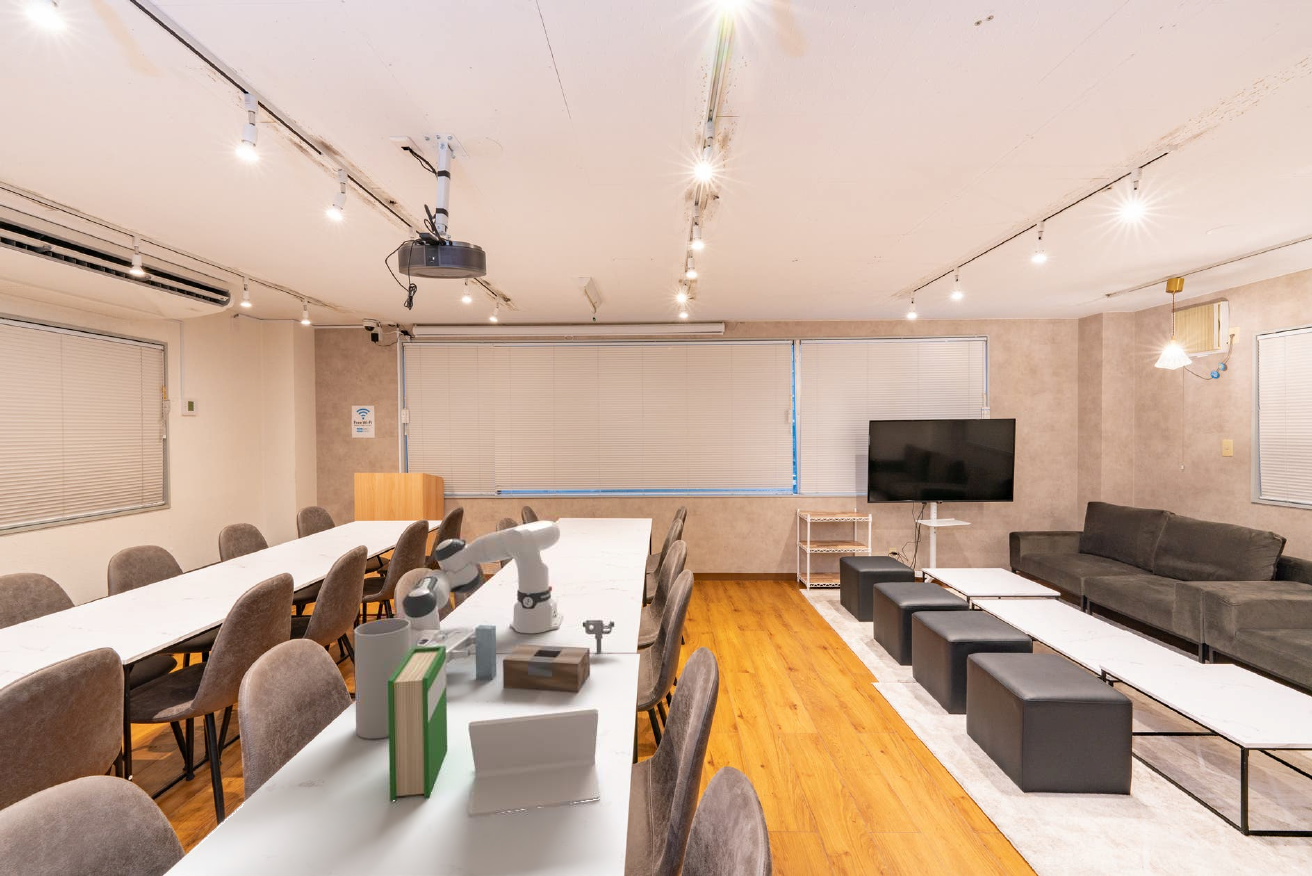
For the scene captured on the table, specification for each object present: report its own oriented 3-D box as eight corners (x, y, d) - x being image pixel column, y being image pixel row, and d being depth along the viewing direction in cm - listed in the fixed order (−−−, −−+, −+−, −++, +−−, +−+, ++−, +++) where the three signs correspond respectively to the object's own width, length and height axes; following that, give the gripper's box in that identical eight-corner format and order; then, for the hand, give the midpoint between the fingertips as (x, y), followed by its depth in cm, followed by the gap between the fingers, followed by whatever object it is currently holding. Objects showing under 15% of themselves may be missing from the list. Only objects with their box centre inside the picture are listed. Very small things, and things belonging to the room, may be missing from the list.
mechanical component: (613, 653, 190) (613, 622, 190) (582, 653, 190) (582, 623, 190) (614, 650, 193) (614, 619, 193) (584, 650, 193) (583, 620, 193)
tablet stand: (600, 801, 115) (599, 715, 114) (468, 819, 110) (466, 729, 110) (592, 751, 132) (591, 677, 132) (478, 765, 127) (477, 687, 127)
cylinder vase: (400, 710, 153) (398, 615, 152) (420, 727, 144) (418, 626, 144) (349, 727, 144) (347, 627, 144) (366, 746, 135) (364, 639, 135)
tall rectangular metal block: (480, 675, 175) (480, 625, 174) (496, 675, 174) (495, 625, 174) (476, 679, 172) (475, 628, 171) (492, 680, 171) (491, 629, 171)
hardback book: (429, 798, 116) (427, 678, 116) (390, 802, 115) (387, 680, 114) (447, 750, 133) (445, 645, 133) (413, 753, 132) (411, 648, 132)
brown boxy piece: (519, 670, 177) (519, 644, 177) (589, 674, 174) (589, 647, 174) (503, 687, 165) (502, 659, 165) (578, 692, 162) (577, 663, 162)
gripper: (450, 643, 185) (491, 645, 183) (414, 669, 165) (459, 672, 163) (450, 623, 185) (491, 625, 183) (413, 647, 165) (459, 649, 163)
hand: (476, 647), depth 173 cm, fingers open, 8 cm apart
